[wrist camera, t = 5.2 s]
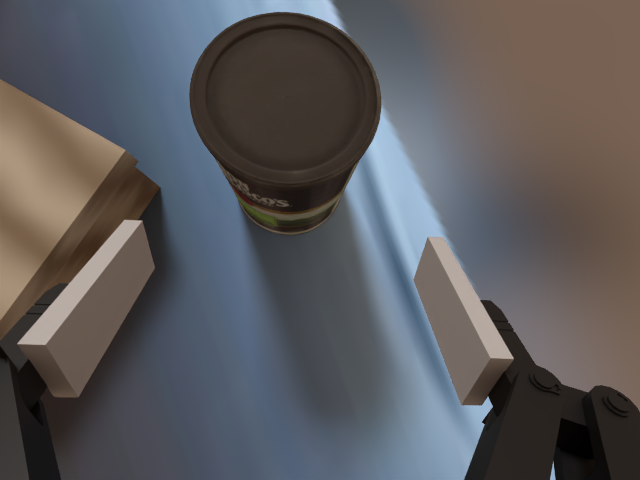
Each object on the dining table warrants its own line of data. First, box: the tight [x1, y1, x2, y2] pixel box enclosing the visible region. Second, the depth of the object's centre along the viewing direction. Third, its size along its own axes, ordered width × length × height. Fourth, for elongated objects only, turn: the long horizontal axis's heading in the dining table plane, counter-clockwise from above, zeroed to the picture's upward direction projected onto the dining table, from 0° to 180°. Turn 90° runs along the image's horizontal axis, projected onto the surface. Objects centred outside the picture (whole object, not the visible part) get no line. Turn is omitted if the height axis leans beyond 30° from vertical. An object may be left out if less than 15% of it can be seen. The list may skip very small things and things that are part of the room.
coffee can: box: [189, 12, 381, 235], centre depth 25 cm, size 10×10×14 cm
